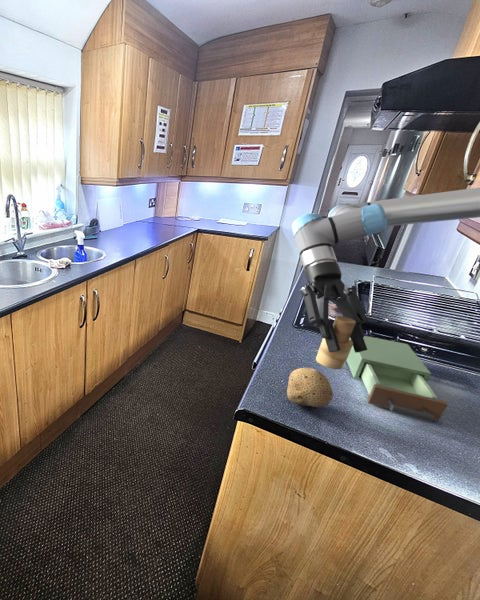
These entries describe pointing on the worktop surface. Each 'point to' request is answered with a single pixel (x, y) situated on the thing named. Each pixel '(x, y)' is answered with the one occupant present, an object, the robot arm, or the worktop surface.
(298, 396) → the natural sponge
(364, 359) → the cabinet
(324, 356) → the stepped wooden peg
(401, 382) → the drawer
